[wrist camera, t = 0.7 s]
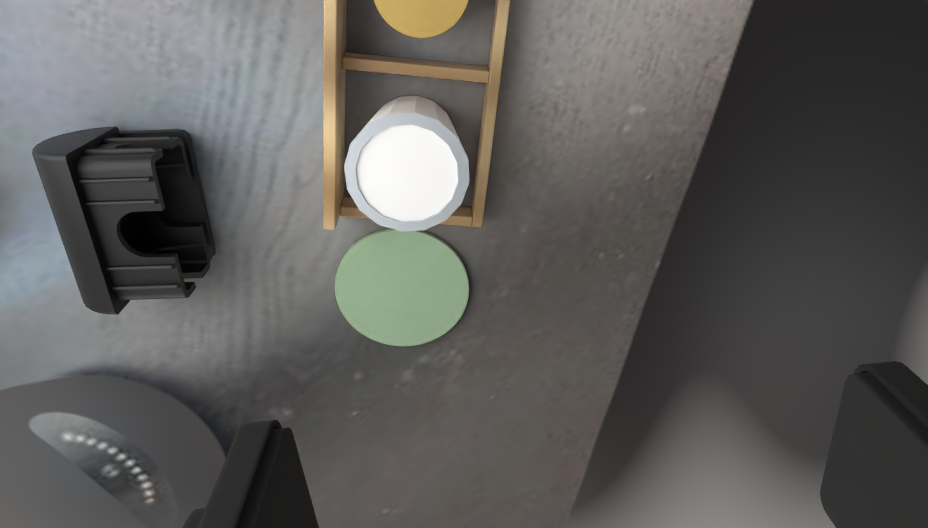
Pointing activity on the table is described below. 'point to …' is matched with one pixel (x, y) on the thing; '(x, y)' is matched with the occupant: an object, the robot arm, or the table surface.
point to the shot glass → (407, 166)
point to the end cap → (127, 213)
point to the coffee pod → (421, 15)
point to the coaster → (401, 287)
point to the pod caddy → (342, 61)
